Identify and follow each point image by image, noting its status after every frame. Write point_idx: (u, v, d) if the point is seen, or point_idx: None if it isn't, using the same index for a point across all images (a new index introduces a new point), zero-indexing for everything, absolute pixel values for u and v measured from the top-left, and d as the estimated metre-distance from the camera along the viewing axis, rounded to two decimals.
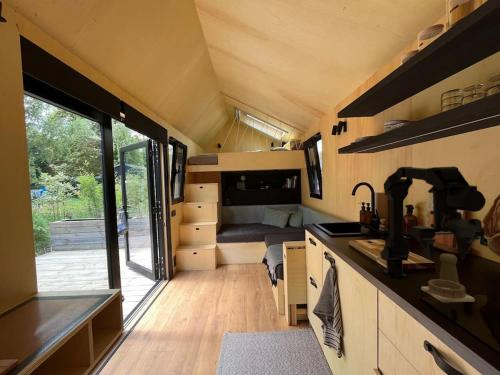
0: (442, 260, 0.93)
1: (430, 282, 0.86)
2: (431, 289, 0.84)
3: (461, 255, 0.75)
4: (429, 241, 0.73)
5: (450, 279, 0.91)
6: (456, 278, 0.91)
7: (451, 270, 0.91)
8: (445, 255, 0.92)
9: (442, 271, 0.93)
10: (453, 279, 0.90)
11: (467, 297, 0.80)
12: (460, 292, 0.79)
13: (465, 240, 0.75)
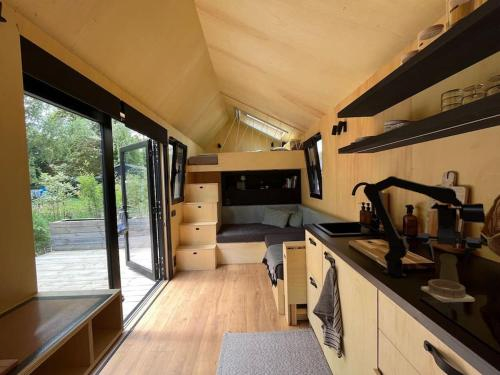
0: (442, 260, 0.93)
1: (430, 282, 0.86)
2: (431, 289, 0.84)
3: (463, 262, 0.90)
4: (424, 244, 0.96)
5: (450, 279, 0.91)
6: (456, 278, 0.91)
7: (451, 270, 0.91)
8: (445, 255, 0.92)
9: (442, 271, 0.93)
10: (453, 279, 0.90)
11: (467, 297, 0.80)
12: (460, 292, 0.79)
13: (465, 250, 0.89)
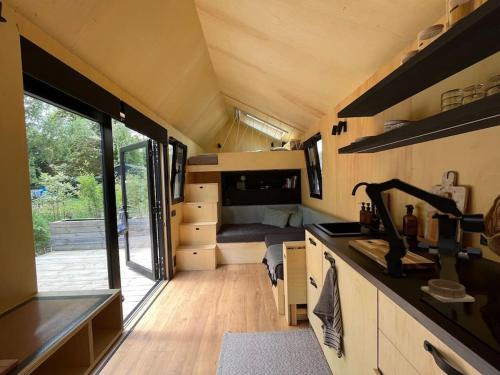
0: (442, 260, 0.93)
1: (430, 282, 0.86)
2: (431, 289, 0.84)
3: (456, 271, 0.91)
4: (432, 255, 0.94)
5: (450, 279, 0.91)
6: (456, 278, 0.91)
7: (451, 270, 0.91)
8: (445, 255, 0.92)
9: (442, 271, 0.93)
10: (453, 279, 0.90)
11: (467, 297, 0.80)
12: (460, 292, 0.79)
13: None
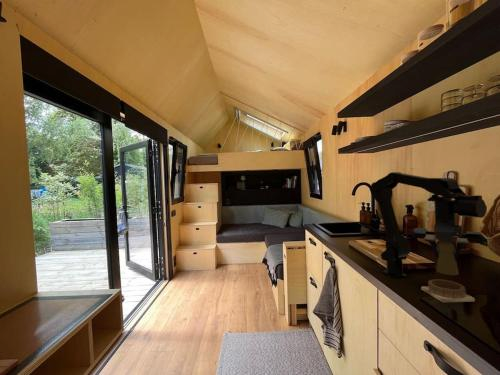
0: (440, 246, 0.85)
1: (430, 282, 0.86)
2: (431, 289, 0.84)
3: None
4: (429, 241, 0.86)
5: (449, 267, 0.83)
6: (455, 265, 0.83)
7: (449, 257, 0.83)
8: (443, 241, 0.85)
9: (440, 258, 0.85)
10: (452, 267, 0.83)
11: (467, 297, 0.80)
12: (460, 292, 0.79)
13: (456, 244, 0.83)
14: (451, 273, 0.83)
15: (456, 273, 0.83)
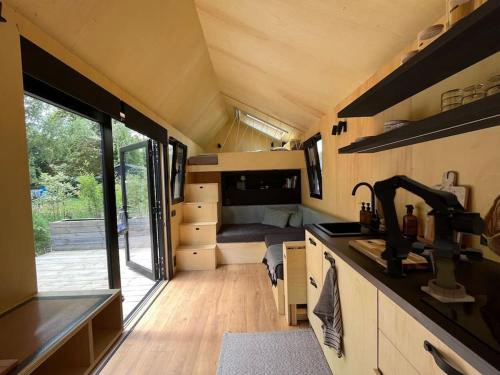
0: (438, 266, 0.84)
1: (430, 282, 0.86)
2: (431, 289, 0.84)
3: None
4: (424, 256, 0.86)
5: (447, 287, 0.82)
6: (454, 286, 0.82)
7: (448, 277, 0.82)
8: (442, 260, 0.84)
9: (438, 278, 0.84)
10: (450, 287, 0.82)
11: (467, 297, 0.80)
12: (460, 292, 0.79)
13: None
14: None
15: None
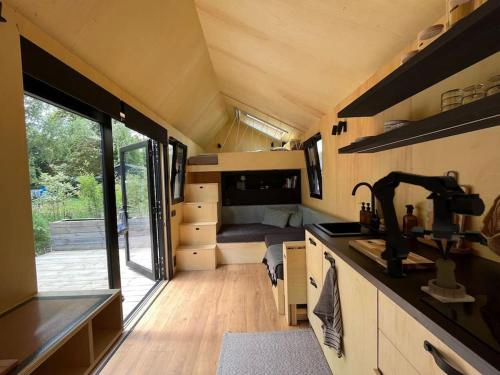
0: (438, 266, 0.84)
1: (430, 282, 0.86)
2: (431, 289, 0.84)
3: None
4: (434, 241, 0.84)
5: (447, 287, 0.82)
6: (454, 286, 0.82)
7: (448, 277, 0.82)
8: (442, 260, 0.84)
9: (438, 278, 0.84)
10: (450, 287, 0.82)
11: (467, 297, 0.80)
12: (460, 292, 0.79)
13: None
14: None
15: None
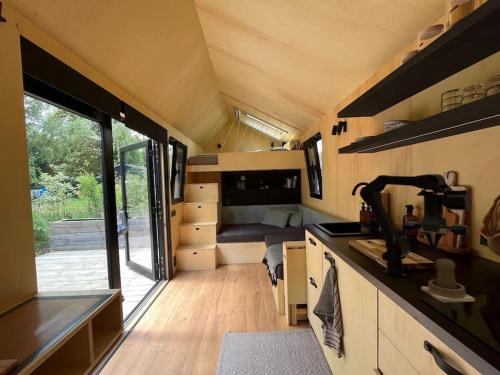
0: (438, 266, 0.84)
1: (430, 282, 0.86)
2: (431, 289, 0.84)
3: None
4: (424, 234, 0.91)
5: (447, 287, 0.82)
6: (454, 286, 0.82)
7: (448, 277, 0.82)
8: (442, 260, 0.84)
9: (438, 278, 0.84)
10: (450, 287, 0.82)
11: (467, 297, 0.80)
12: (460, 292, 0.79)
13: (435, 235, 0.90)
14: None
15: None
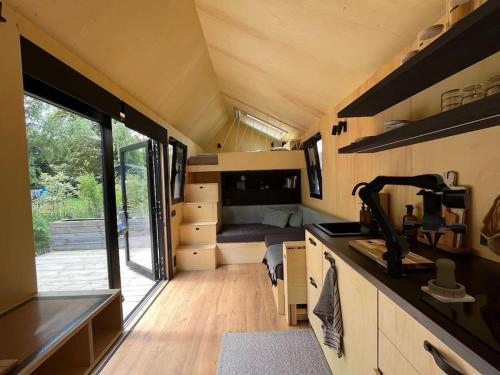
0: (438, 266, 0.84)
1: (430, 282, 0.86)
2: (431, 289, 0.84)
3: None
4: (424, 233, 0.92)
5: (447, 287, 0.82)
6: (454, 286, 0.82)
7: (448, 277, 0.82)
8: (442, 260, 0.84)
9: (438, 278, 0.84)
10: (450, 287, 0.82)
11: (467, 297, 0.80)
12: (460, 292, 0.79)
13: (435, 234, 0.91)
14: None
15: None
